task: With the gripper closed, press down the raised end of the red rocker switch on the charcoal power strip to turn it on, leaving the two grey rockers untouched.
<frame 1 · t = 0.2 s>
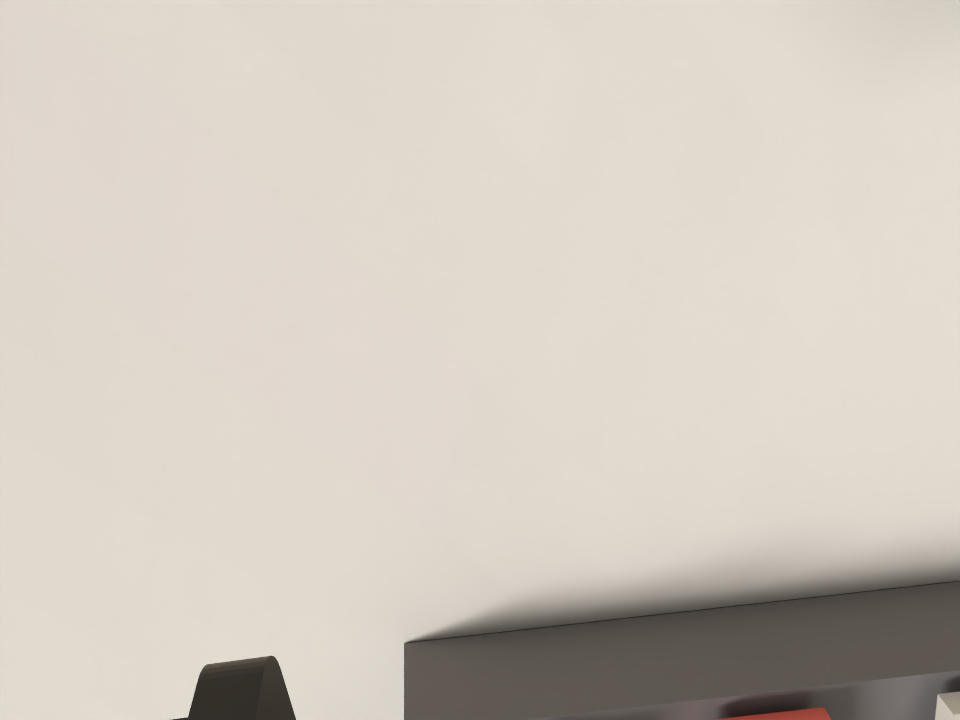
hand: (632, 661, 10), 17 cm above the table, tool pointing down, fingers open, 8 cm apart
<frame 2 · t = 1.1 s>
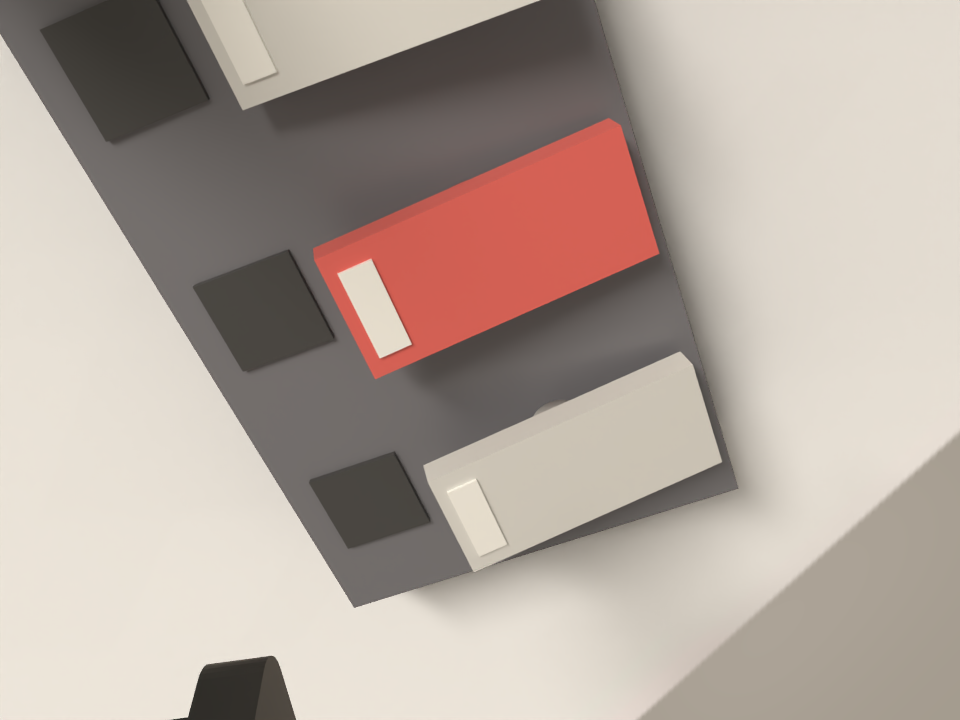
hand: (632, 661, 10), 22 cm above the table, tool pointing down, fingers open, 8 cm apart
grey rocker far end: (572, 458, 30), point 5 cm above the table, hinge at -10.0°
red rocker: (487, 247, 26), point 5 cm above the table, hinge at -10.0°
power strip: (411, 212, 31), on the table
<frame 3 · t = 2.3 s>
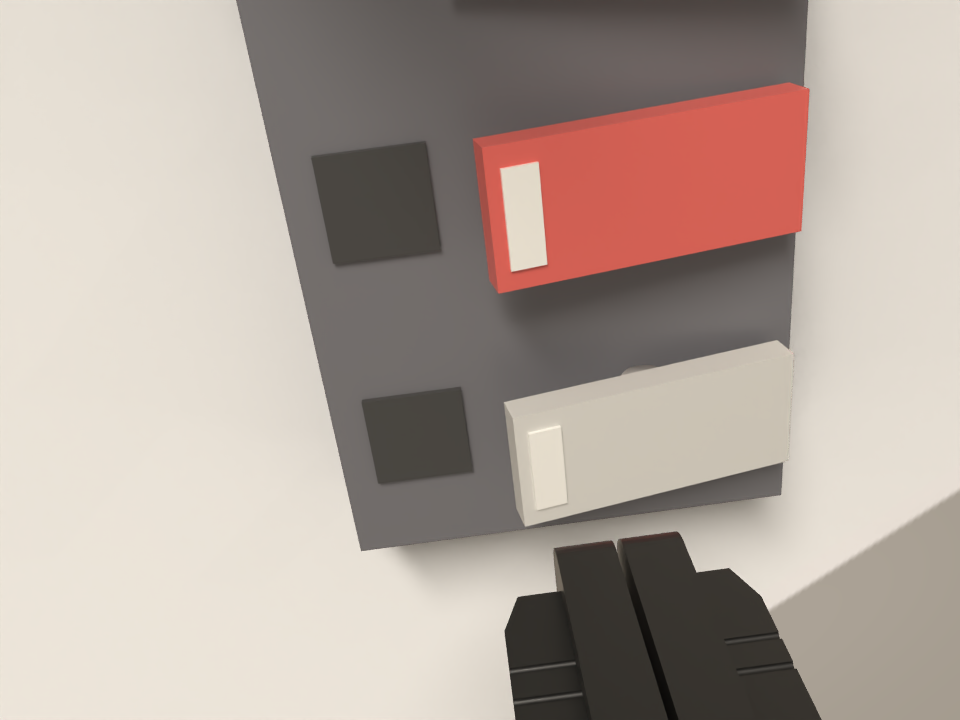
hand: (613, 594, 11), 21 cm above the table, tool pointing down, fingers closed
grey rocker far end: (648, 428, 29), point 5 cm above the table, hinge at -10.0°
red rocker: (640, 184, 25), point 5 cm above the table, hinge at -10.0°
power strip: (527, 145, 30), on the table
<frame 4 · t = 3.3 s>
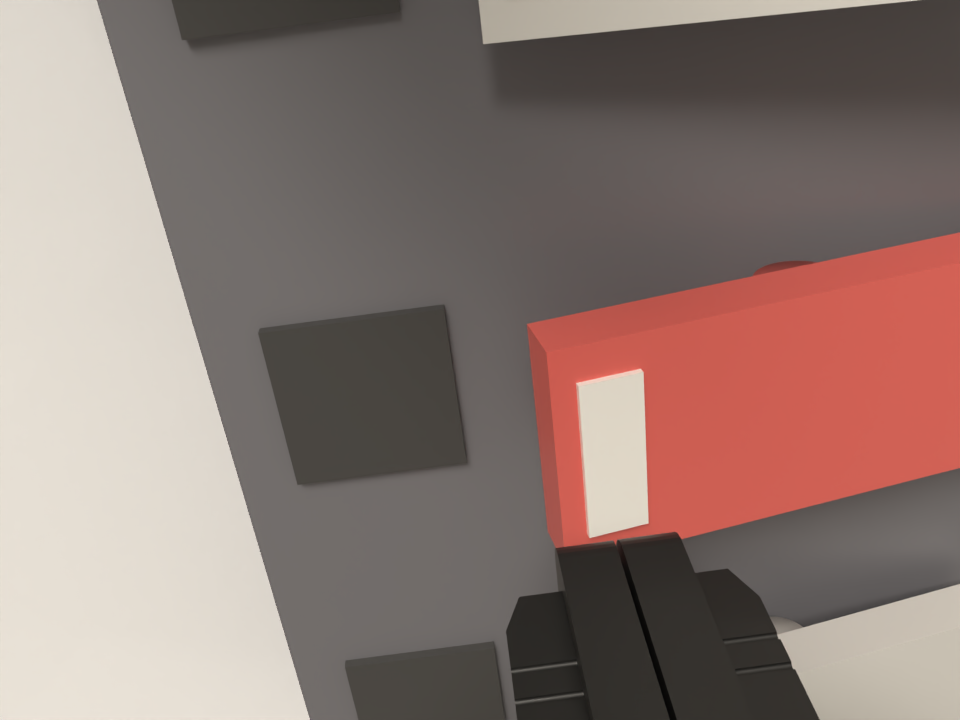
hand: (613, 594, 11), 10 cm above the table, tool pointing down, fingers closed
grey rocker far end: (778, 711, 19), point 5 cm above the table, hinge at -10.0°
red rocker: (799, 381, 15), point 5 cm above the table, hinge at -10.0°
power strip: (593, 275, 20), on the table
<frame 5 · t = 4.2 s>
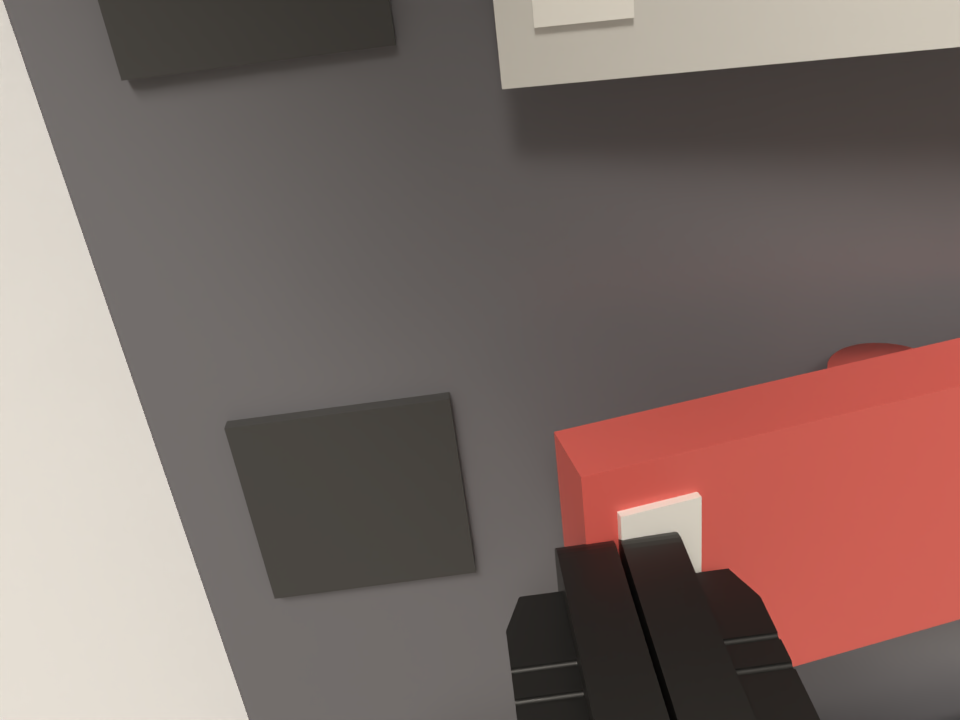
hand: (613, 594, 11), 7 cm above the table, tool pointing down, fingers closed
red rocker: (881, 488, 12), point 5 cm above the table, hinge at -10.0°, touching gripper
power strip: (620, 337, 17), on the table
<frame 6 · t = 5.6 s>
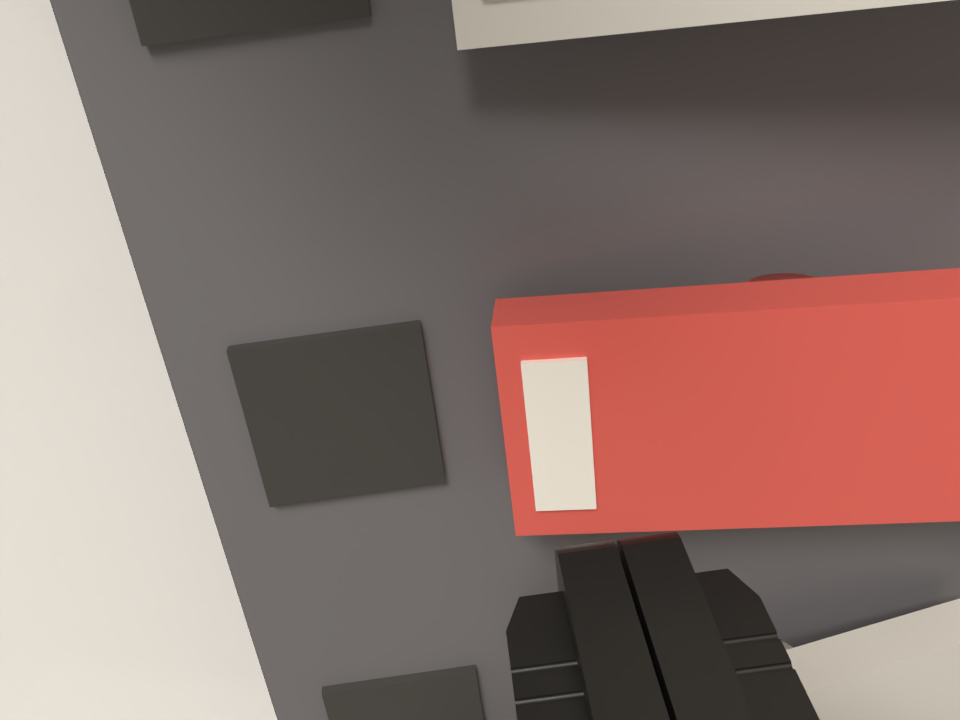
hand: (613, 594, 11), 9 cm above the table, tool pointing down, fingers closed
red rocker: (783, 397, 15), point 5 cm above the table, hinge at 9.4°
power strip: (575, 286, 19), on the table
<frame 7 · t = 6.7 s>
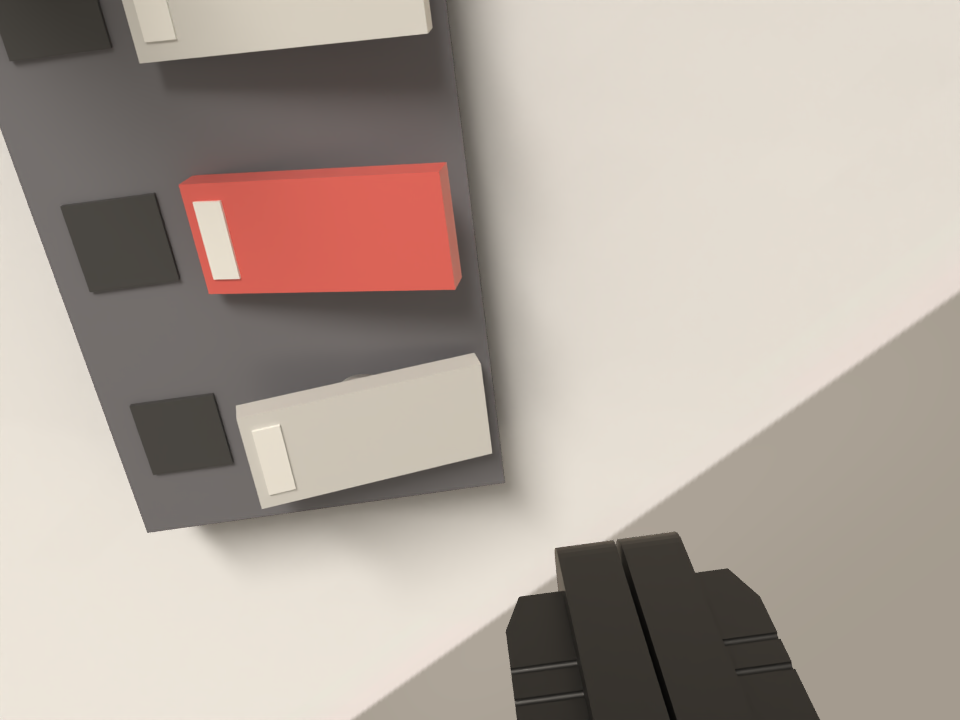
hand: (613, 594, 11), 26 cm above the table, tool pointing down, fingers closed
grey rocker far end: (367, 426, 34), point 5 cm above the table, hinge at -10.0°
red rocker: (324, 228, 31), point 5 cm above the table, hinge at 16.4°, touching power strip
power strip: (272, 190, 35), on the table
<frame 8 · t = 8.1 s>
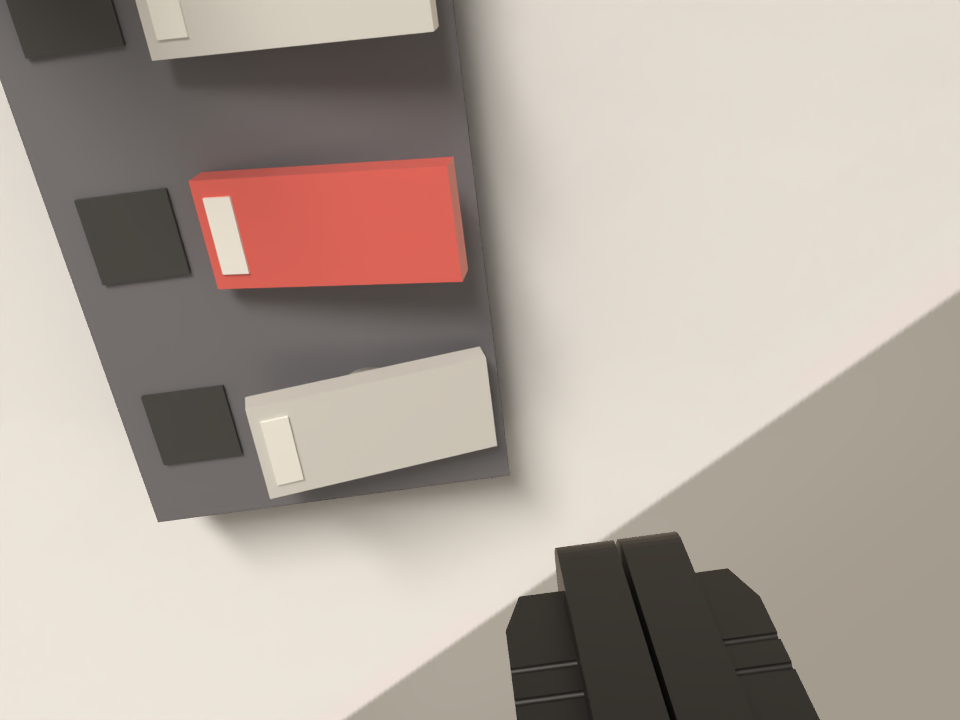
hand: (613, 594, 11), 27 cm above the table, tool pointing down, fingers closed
grey rocker far end: (374, 418, 35), point 5 cm above the table, hinge at -10.0°
red rocker: (332, 223, 31), point 5 cm above the table, hinge at 14.4°
power strip: (282, 185, 36), on the table
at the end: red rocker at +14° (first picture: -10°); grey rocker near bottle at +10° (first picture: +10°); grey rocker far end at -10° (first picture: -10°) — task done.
